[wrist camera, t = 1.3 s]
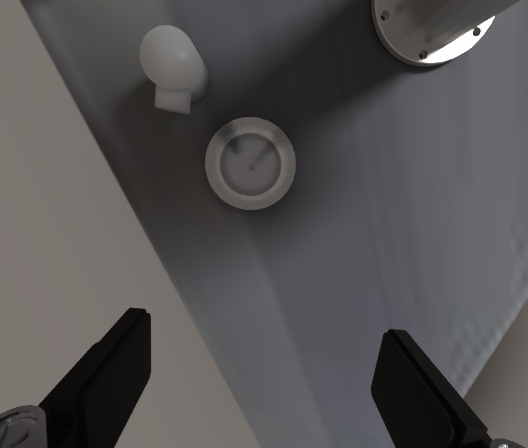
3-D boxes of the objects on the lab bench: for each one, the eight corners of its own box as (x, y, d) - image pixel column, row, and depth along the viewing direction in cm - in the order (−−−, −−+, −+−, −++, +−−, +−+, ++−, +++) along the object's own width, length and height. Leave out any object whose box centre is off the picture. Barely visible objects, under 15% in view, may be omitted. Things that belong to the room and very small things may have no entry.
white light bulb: (165, 50, 28) (140, 20, 22) (211, 57, 28) (198, 30, 22) (162, 113, 29) (138, 101, 23) (206, 120, 29) (192, 110, 23)
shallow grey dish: (212, 112, 29) (209, 109, 27) (301, 126, 29) (303, 124, 28) (203, 201, 31) (200, 203, 30) (286, 213, 32) (287, 215, 30)
